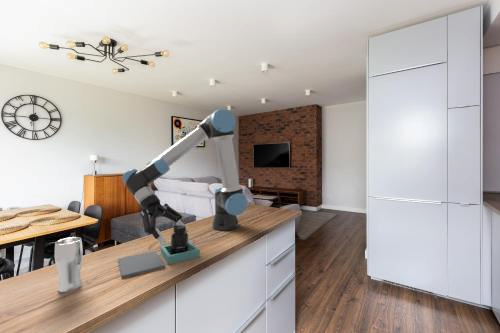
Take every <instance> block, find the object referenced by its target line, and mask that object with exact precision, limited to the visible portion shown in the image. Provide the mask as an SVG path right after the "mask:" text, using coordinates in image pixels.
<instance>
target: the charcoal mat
mask: <svg viewBox="0 0 500 333" xmlns="http://www.w3.org/2000/svg"><path fill="white" fill-rule="evenodd" d="M117 263H118V268H119V273H120V277H121V279H127V278H130V277H134V276H137V275H141V274H146V273H148V272H153V271H157V270H160V269H165V268H166V267H165V266H166V264H164V262H163V260H162V259H161V257H160V256H159V254H158V252H157V251H156V250H152V251H148V252H143V253H138V254H134V255H130V256H128V255H127V256H125V257H120V258H117Z"/></svg>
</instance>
